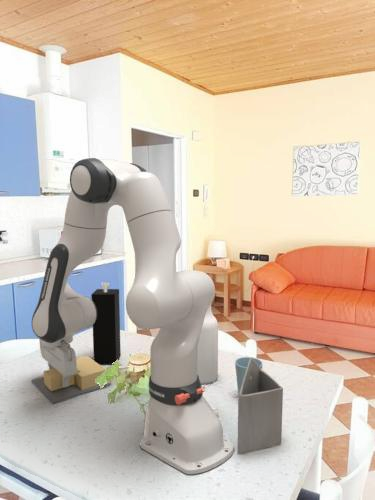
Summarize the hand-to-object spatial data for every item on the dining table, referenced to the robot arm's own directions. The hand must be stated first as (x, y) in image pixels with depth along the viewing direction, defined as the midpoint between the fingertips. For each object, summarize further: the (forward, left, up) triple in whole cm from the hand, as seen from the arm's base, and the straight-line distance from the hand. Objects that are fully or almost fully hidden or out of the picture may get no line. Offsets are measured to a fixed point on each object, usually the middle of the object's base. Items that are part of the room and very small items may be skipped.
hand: (59, 380), depth 119 cm
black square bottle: (+9, -21, -2) cm, 23 cm away
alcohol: (-23, -38, -2) cm, 44 cm away
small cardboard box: (0, 0, -1) cm, 1 cm away
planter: (-56, -28, -2) cm, 63 cm away
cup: (-40, -40, -2) cm, 56 cm away
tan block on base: (0, -4, -2) cm, 4 cm away
